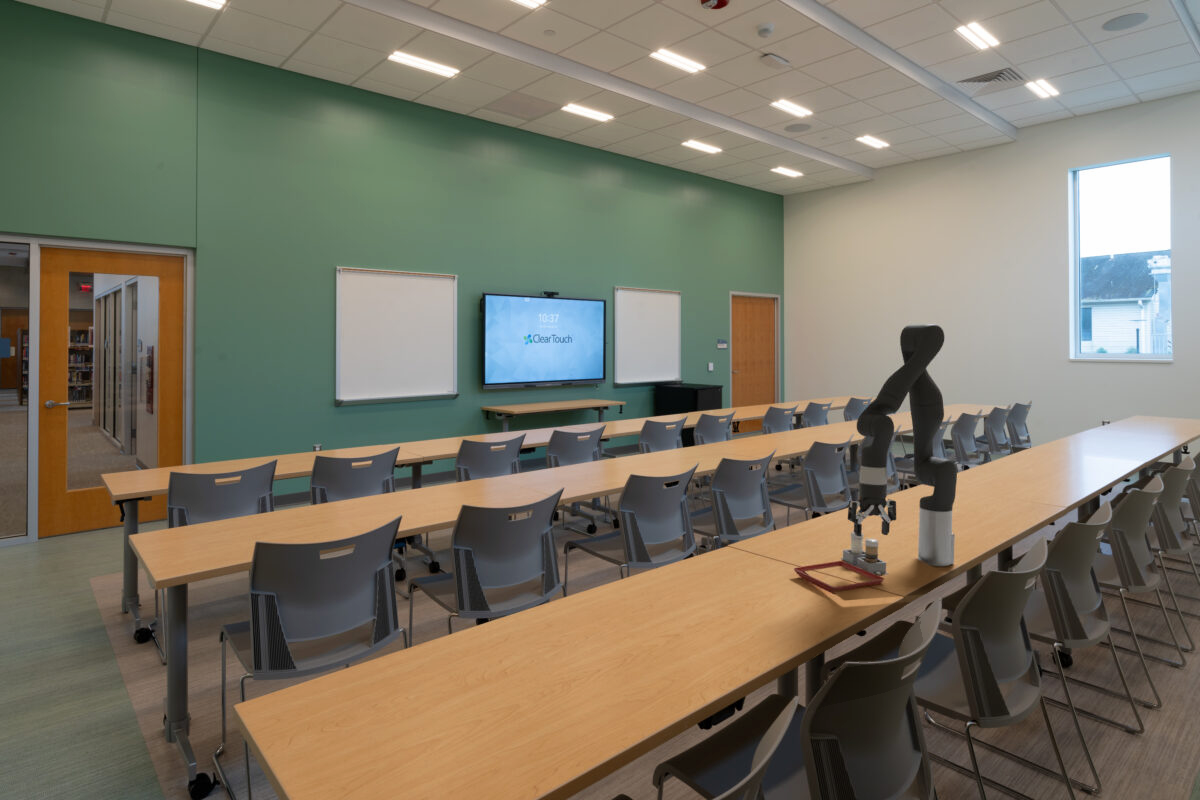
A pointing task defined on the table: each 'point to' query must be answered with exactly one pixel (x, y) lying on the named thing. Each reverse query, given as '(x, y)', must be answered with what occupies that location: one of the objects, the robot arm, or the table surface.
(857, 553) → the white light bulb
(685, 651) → the table surface
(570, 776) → the table surface
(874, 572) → the block
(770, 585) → the table surface
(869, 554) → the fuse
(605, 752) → the table surface
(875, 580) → the plant saucer
